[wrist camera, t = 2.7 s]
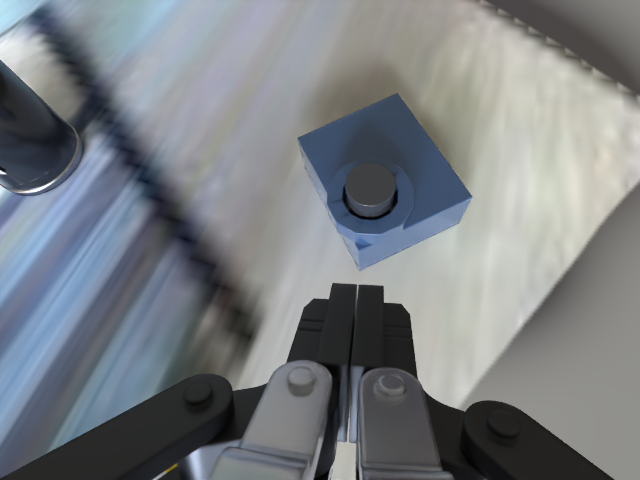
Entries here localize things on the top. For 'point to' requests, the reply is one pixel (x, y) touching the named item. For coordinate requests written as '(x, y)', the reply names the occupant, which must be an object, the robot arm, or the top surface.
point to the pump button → (370, 190)
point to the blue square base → (404, 163)
